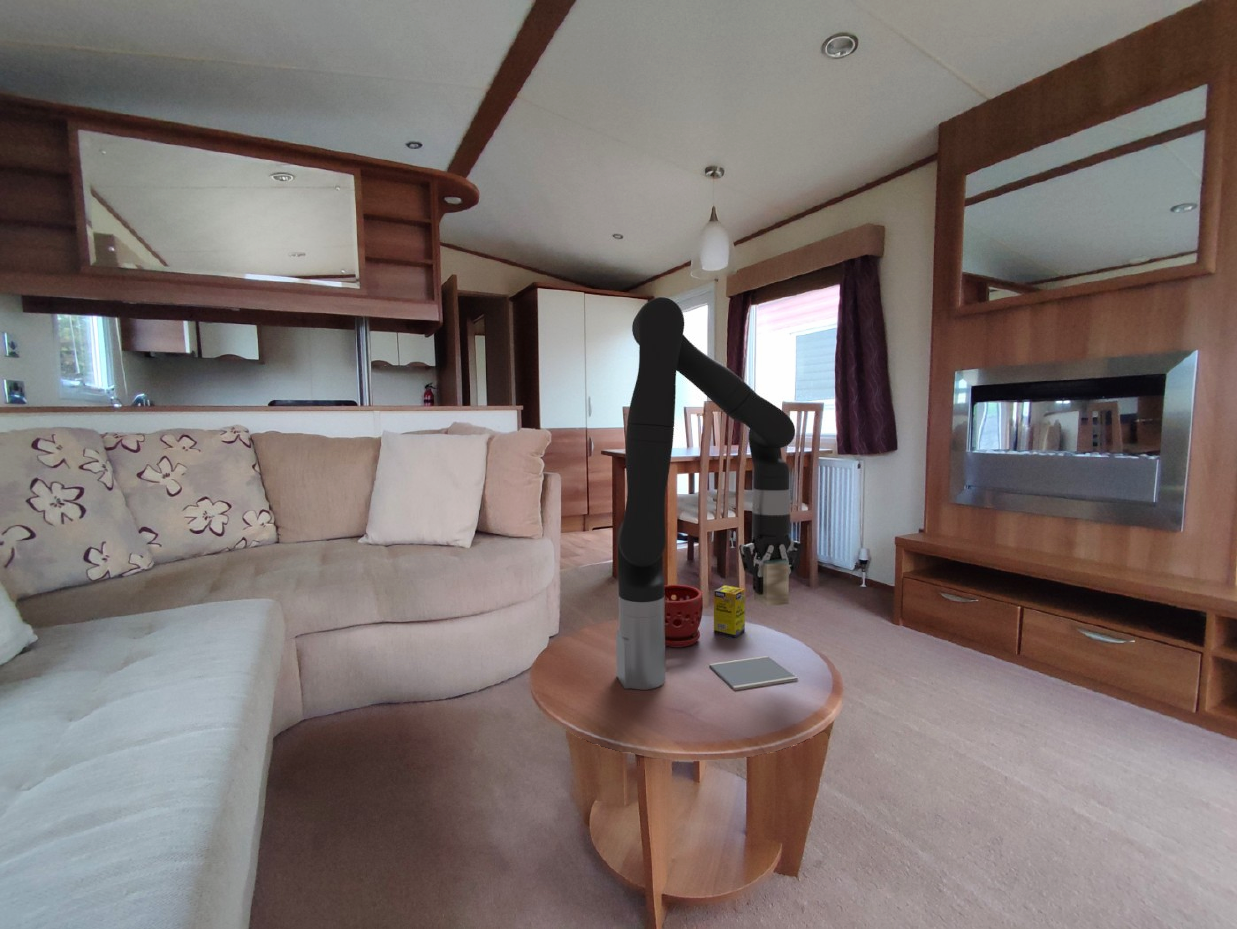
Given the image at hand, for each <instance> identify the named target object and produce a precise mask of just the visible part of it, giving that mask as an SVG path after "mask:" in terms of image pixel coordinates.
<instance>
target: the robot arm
mask: <svg viewBox="0 0 1237 929" xmlns="http://www.w3.org/2000/svg"><path fill="white" fill-rule="evenodd" d="M684 331H685V317H684V313H683V311H682V309H681V307H680V305H679V304H678V303H677V302H676V301H675V300H673V299H671V298H669V297H667V296H658V297H657V296H656V297H654V298H652V299H650V300H649V301H647V302H646V303H644V305H642V307H641V308H640V309H639V311H638V312H637V313H636V315H635V317H634V319H633V321H632V325H631V332H632V336H633V338H634V340H635V342H636V344H637V345H638V346H639V348H638V349H639V350H638V352H639V355H638V360H639V361H638V369H637V370H638V371H637V376H636V382H635V384H634V388H633V391H632V396H631V401H630V405H629V408H628V409H629V410H628V413H627V414H628V415H627V420H626V421H627V422H626V423H627V424H626V431H625V433H626V435H625V470H626V482H627V483H626V484H627V485H626V486H627V489H626V490H627V491H626V492H627V493H626V494H627V495H626V501H625V502H626V503H625V510H624V517H623V521H622V522H621V524H620V526H619V528H618V532H617V577H618V579H617V580H618V581H617V583H618V586H617V587H618V629H617V630H616V632H615V633H616V634H615V635H616V636H615V638H616V643H615V644H616V647H615V648H616V676H617V678H618V680H619V681H620V683H621V684H622V687H623V688H624V689H634V690H652V689H656V688H659V687H661V686H662V685H663V684H664V683H665V681H666V645H665V600H666V597H665V585H666V584H665V578H664V577H665V576H664V564H663V563H664V561H663V559H664V557H663V553H664V551H665V548H666V542H667V540H666V536H667V535H666V514H665V513H666V510H665V509H666V491H667V485H668V480H669V474H670V468H671V460H672V452H673V444H674V435H675V434H674V432H675V419H676V418H675V416H676V414H675V413H676V399H677V398H676V392H677V389H676V388H677V385H676V384H677V383H676V382H677V372H678V373H679V374H680V375H682V376H683V377H684V378H686V379H687V380H688V381H689V382H690V383H691V384H693V385H694V386H695V388H697V389H698V390H700V391H701V392H702V393H703V394H704V395H705V396H706V397H707V398H709V399H710V401H712V403H714V404H715V406H717V407H718V408H719V409H721V411H722V412H724V413H725V414H726V415H727V416H728V417H729V418H731V419H732V420H734V421H736V422H739V423H742V424H744V425H745V426H746V427H748V428H749V429H748V445H749V451H750V457H751V461H752V464H753V493H752V501H751V502H752V505H751V509H752V510H751V511H752V515H751V516H752V520H751V521H752V523H751V524H752V530H751V531H752V533H753V534H752V536H753V537H752V540H751V542H750V543H747V544H743V543H741V544H739V546H738V549H739V554H740V558H741V564H742V567H743V571H744V572H746V573H748V574H750V575H751V576H752V589H753V592H754V591H755V592H756V593H757V594H759V595H762V594H763V577H762V576H763V573H764V566H765V561H769V560H776V559H782V560H789V575H790V574H791V573H792V572H794V571H795V572H797V571H798V570H799V567H800V562H801V557H802V553H803V547H804V543H803V542H800V541H798V540H797V541H796V540H791V538H790V534H791V495H790V469H789V467H790V466H789V465H788V463H787V462H786V461H785V460H784V459H783V456H782V450H781V449H783V448H785V447H787V446H788V445H790V444H791V443H792V442H793V441H794V439H795V434H796V428H795V425H794V422H793V420H792V419H791V417H790V416H789V415H788V414H786V413H785V411H784V410H782V409H780V408H779V407H778V406H776V405H774V404H773V403H772V402H770V401H768V400H767V399H765V398H763V397H762V396H761V395H759V394H758V393H756V392H755V390H753V388H751V386H750V385H748V384H747V383H746V382H745V381H744V380H743V378H741V377H740V376H738V375H737V374H736V373H735V372H734V371H732V370H731V369H730V368H728V367H727V366H725V365H724V364H722V363H720V362H719V361H718V360H716V359H714V358H712V357H710V356H709V355H707V354H705V353H704V352H703V351H702V350H700V349H699V348H698V347H697V346H695V345H694V344H693V343H692V342H691V341H690V340H689V339H688V338H687V337H686V336H685V334H684ZM788 549H789V550H788ZM753 551H755V556H754V557H755V558H754V557H753V554H754V552H753ZM787 551H788V555H787ZM757 558H761V559H762V561H759V560H758V559H757ZM758 565H759V567H758Z"/></svg>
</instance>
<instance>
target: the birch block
mask: <svg viewBox="0 0 1237 929" xmlns="http://www.w3.org/2000/svg"><path fill="white" fill-rule="evenodd" d="M754 558H755V556H753V559H754ZM757 559H758V560H759V561H762V559H761V558H757ZM758 567H759V565H758ZM762 577H763V594H762V595H759V594H757V593H756V592H755V591H754V590H753V599H754V600H755V601H757V602H758V603H760V604H762V605H764V606H765V607H773V606H781V605H782V606H783V605H789V603H790V602H789V600H790V598H789V597H790V596H789V595H790V594H789V590H790V589H789V588H790V574H789V560H782V559H776V560H769V561H765V566H764V573H763V576H762Z"/></svg>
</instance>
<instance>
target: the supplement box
mask: <svg viewBox="0 0 1237 929" xmlns="http://www.w3.org/2000/svg"><path fill="white" fill-rule="evenodd" d="M745 601H746V589H745V588H742V587H736V586H730V585H725V584H724V585H723V586H721V587H718V588H716V589H713V633H714V634H717V635H721V636H725V637H730V638H737V637H738V636H739V635H741V634H742V633H744V632H745V631H746V627H745V623H746V618H745V617H746V614H745V613H746V609H745V608H746V602H745Z"/></svg>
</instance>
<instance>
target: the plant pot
mask: <svg viewBox="0 0 1237 929" xmlns="http://www.w3.org/2000/svg"><path fill="white" fill-rule="evenodd" d="M672 596H675V597H676V598H674V599H673V598H672ZM687 597H689V598H687ZM665 598H667V600H666V599H665V647H666V646H667V647H671V648H683V647H688V646H692V645H693V644H695V643H696V642H697V641H699V639H700V637H701V631H700V630H699V627H700V625H701V621H702V617H703V608H704V606H703V605H704V600H703V592H702V591H701V590H700V589H699V588H696V587H694V586H691V585H686V584H667V585H666V584H665ZM681 599H682V600H681Z"/></svg>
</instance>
